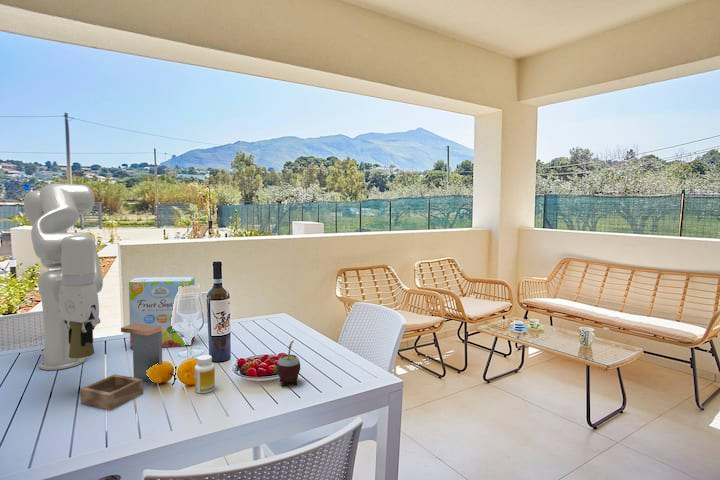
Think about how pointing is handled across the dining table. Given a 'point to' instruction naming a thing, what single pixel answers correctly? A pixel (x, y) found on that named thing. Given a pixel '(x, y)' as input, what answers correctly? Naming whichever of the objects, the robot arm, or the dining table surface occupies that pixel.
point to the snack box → (156, 305)
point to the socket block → (103, 399)
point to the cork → (79, 342)
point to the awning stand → (145, 348)
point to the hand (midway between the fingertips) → (81, 342)
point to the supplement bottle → (204, 374)
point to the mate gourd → (288, 368)
